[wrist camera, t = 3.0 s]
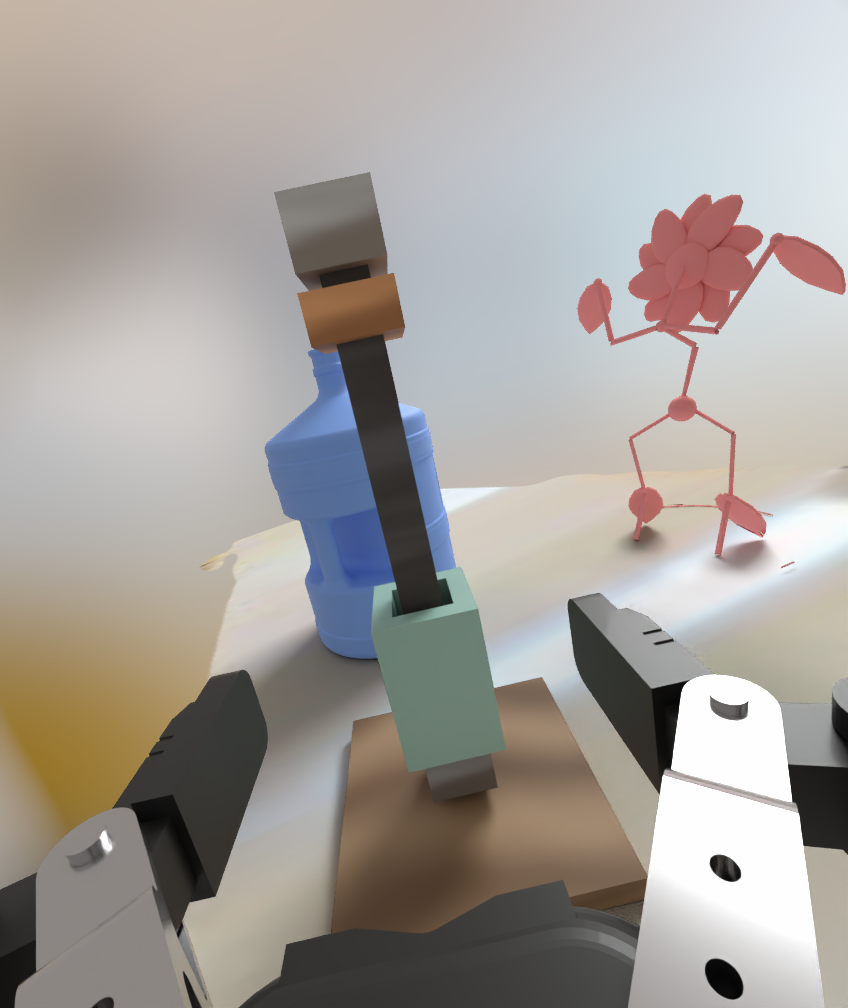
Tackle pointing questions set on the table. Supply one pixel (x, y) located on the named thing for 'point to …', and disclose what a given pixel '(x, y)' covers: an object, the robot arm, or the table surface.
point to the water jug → (347, 507)
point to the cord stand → (522, 706)
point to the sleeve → (437, 675)
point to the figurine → (703, 309)
